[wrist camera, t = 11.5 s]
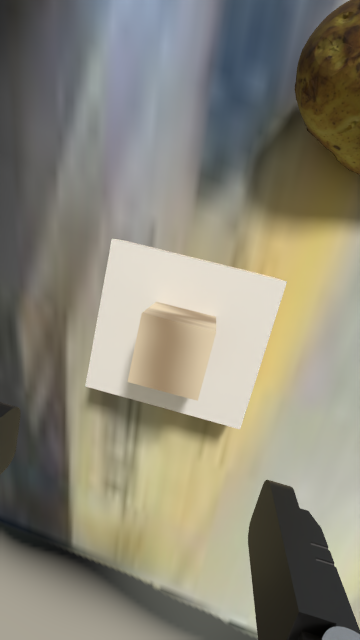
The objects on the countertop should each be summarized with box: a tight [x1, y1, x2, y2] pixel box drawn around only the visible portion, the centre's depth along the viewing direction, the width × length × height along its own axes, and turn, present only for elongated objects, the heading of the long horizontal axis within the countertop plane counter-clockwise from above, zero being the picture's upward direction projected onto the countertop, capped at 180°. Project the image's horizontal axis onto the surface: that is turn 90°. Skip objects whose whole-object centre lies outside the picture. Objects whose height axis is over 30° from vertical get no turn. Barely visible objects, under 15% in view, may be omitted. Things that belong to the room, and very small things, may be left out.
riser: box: [85, 239, 287, 429], centre depth 27 cm, size 14×13×4 cm
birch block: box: [128, 302, 216, 401], centre depth 23 cm, size 5×5×5 cm
